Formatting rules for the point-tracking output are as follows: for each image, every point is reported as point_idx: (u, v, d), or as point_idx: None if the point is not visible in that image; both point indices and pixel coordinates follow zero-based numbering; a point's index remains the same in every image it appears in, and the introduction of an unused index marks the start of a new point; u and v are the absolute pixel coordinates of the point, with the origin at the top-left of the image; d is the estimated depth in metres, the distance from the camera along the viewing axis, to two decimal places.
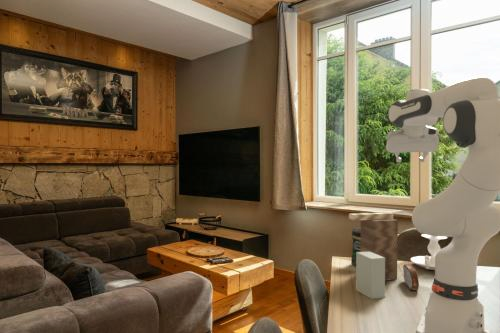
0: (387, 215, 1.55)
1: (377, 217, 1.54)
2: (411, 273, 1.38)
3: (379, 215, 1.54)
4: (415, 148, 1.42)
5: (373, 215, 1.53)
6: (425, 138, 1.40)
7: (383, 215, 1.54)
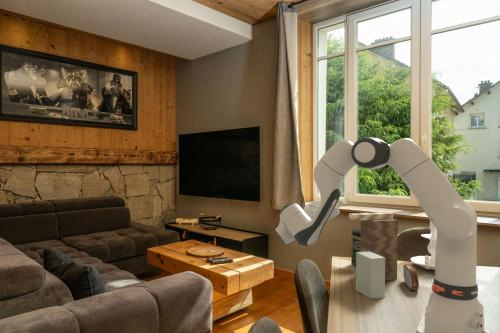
0: (387, 215, 1.55)
1: (377, 217, 1.54)
2: (411, 273, 1.38)
3: (379, 215, 1.54)
4: None
5: (373, 215, 1.53)
6: None
7: (383, 215, 1.54)
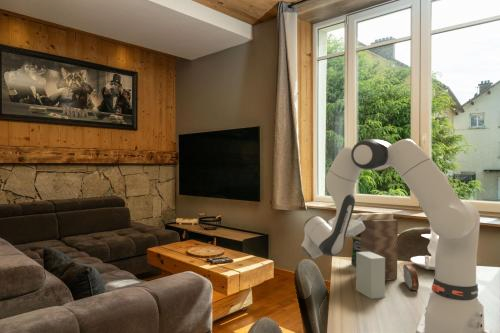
0: (387, 215, 1.55)
1: (377, 217, 1.54)
2: (411, 273, 1.38)
3: (379, 215, 1.54)
4: None
5: (373, 215, 1.53)
6: None
7: (383, 215, 1.54)
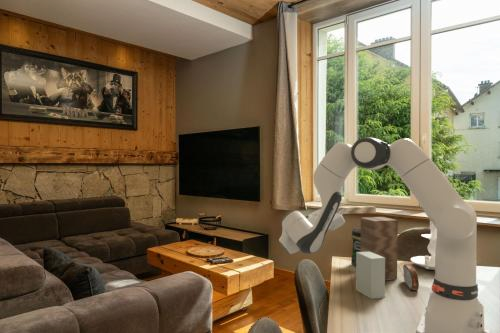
0: (369, 208, 1.48)
1: (359, 211, 1.47)
2: (411, 273, 1.38)
3: (361, 208, 1.47)
4: None
5: (354, 209, 1.46)
6: (314, 216, 1.48)
7: (365, 208, 1.47)
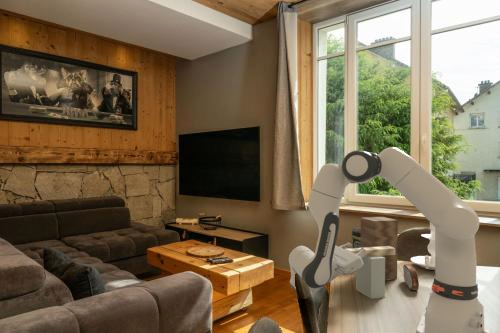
0: (388, 250, 1.35)
1: (377, 253, 1.34)
2: (411, 273, 1.38)
3: (379, 251, 1.34)
4: (341, 251, 1.33)
5: (372, 251, 1.33)
6: None
7: (384, 250, 1.35)
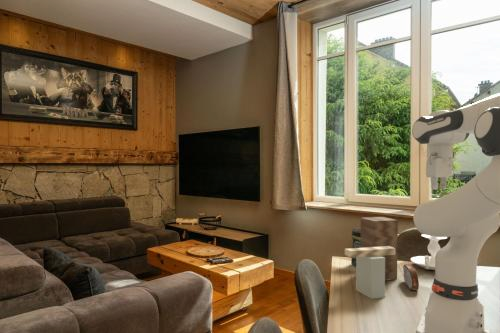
0: (388, 250, 1.35)
1: (377, 253, 1.34)
2: (411, 273, 1.38)
3: (379, 251, 1.34)
4: (444, 172, 1.33)
5: (372, 251, 1.33)
6: (448, 162, 1.36)
7: (384, 250, 1.35)
